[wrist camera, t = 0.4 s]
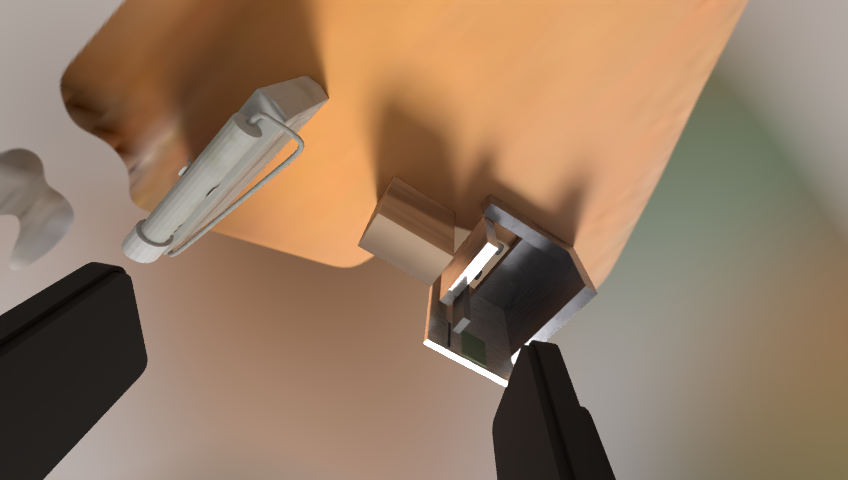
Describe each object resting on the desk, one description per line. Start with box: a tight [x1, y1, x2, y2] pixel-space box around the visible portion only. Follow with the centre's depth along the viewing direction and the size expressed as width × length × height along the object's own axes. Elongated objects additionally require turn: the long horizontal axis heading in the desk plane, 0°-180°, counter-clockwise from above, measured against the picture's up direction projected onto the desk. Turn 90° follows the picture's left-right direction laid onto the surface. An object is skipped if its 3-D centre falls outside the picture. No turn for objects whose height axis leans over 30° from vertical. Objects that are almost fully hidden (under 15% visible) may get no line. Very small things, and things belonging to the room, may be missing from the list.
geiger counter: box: [122, 75, 329, 263], centre depth 38 cm, size 14×6×25 cm
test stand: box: [424, 195, 598, 386], centre depth 41 cm, size 12×12×13 cm
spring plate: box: [440, 216, 504, 306], centre depth 42 cm, size 8×3×6 cm, turn 148°
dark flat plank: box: [452, 284, 471, 334], centre depth 42 cm, size 2×1×10 cm, turn 148°
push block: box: [358, 176, 455, 287], centre depth 40 cm, size 4×8×10 cm, turn 58°
